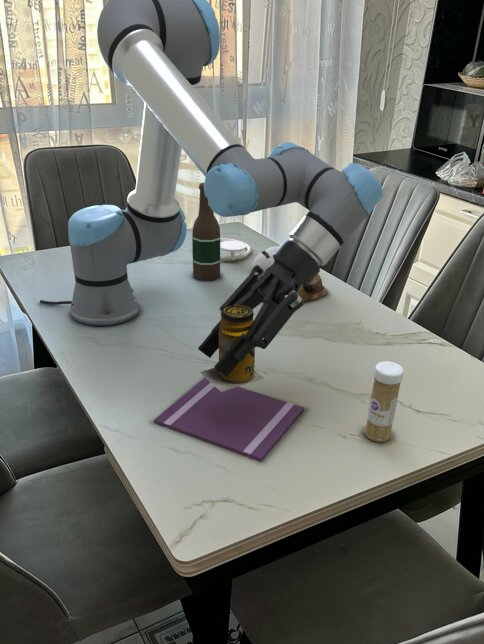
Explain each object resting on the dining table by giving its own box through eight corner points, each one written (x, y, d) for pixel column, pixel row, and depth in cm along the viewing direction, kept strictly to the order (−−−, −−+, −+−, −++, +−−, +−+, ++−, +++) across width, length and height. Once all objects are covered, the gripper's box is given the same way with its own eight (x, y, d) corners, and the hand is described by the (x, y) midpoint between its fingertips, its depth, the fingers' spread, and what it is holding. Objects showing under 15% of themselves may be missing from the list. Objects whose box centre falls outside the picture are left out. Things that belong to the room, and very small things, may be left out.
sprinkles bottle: (359, 435, 103) (369, 367, 96) (372, 424, 106) (384, 357, 99) (382, 446, 101) (395, 377, 93) (395, 434, 104) (409, 366, 96)
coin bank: (332, 291, 155) (333, 241, 147) (292, 319, 145) (290, 267, 137) (284, 277, 163) (282, 229, 155) (242, 302, 153) (238, 252, 145)
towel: (154, 422, 104) (153, 419, 104) (205, 379, 117) (205, 376, 117) (261, 461, 96) (261, 458, 96) (304, 410, 109) (304, 407, 109)
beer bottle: (225, 273, 164) (226, 181, 151) (214, 283, 158) (214, 189, 144) (199, 268, 166) (197, 178, 153) (187, 278, 160) (184, 185, 146)
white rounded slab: (238, 225, 185) (265, 246, 170) (238, 239, 188) (265, 261, 172) (185, 230, 180) (209, 252, 164) (186, 244, 182) (209, 268, 166)
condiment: (264, 379, 102) (266, 313, 95) (221, 392, 98) (220, 325, 91) (241, 361, 107) (242, 298, 100) (199, 373, 103) (197, 308, 96)
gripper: (350, 287, 92) (251, 401, 94) (288, 248, 106) (204, 348, 108) (324, 258, 87) (221, 379, 89) (263, 221, 101) (175, 326, 103)
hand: (212, 362), depth 99 cm, fingers closed on condiment, 6 cm apart
